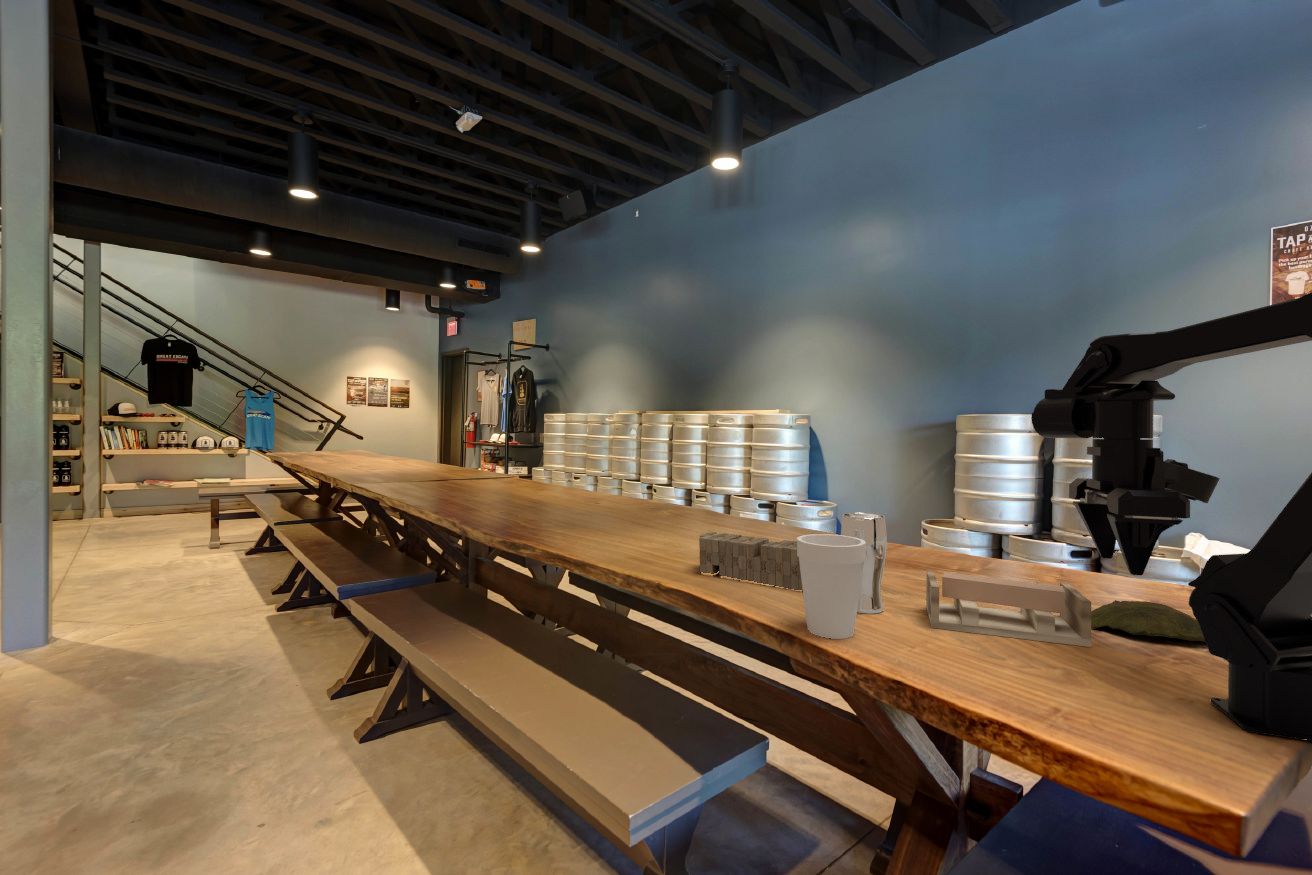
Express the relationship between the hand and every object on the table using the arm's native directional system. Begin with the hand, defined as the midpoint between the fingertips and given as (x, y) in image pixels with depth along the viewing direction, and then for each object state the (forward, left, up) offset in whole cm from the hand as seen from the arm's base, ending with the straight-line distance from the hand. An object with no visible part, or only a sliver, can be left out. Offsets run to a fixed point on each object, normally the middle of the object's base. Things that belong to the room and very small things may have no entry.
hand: (1120, 565), depth 68 cm
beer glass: (+11, +30, -12) cm, 34 cm away
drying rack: (+10, +11, -12) cm, 19 cm away
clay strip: (+10, +11, -8) cm, 17 cm away
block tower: (+22, +47, -12) cm, 54 cm away
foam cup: (-2, +34, -12) cm, 36 cm away
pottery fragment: (+17, -8, -13) cm, 23 cm away
